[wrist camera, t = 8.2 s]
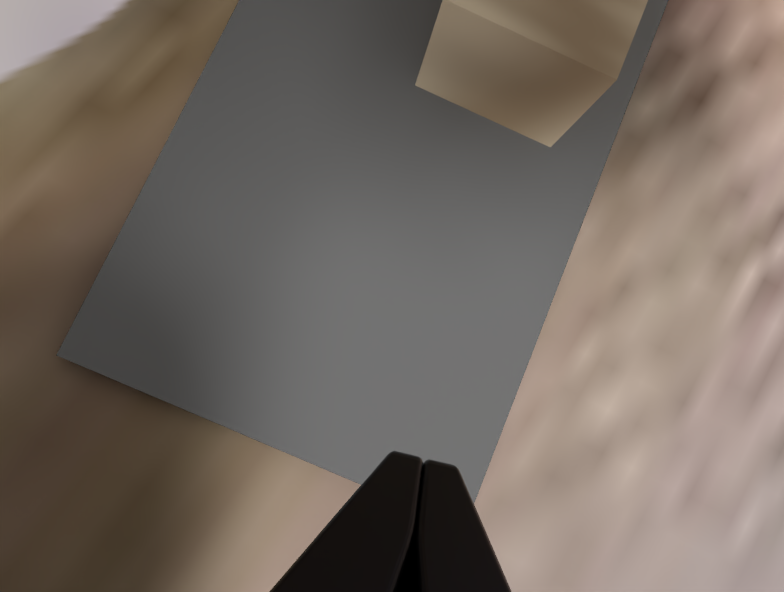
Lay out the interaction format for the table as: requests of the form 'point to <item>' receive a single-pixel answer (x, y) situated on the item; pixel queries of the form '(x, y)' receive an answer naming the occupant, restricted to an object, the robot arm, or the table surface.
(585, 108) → the tan long rectangular block
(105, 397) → the table surface
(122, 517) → the table surface
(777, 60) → the table surface
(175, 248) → the rubber mat
